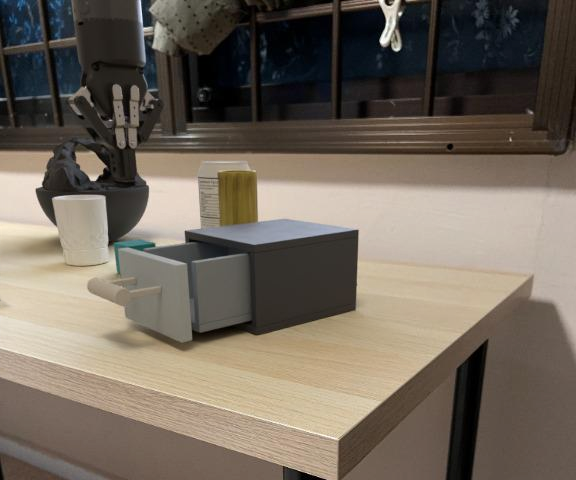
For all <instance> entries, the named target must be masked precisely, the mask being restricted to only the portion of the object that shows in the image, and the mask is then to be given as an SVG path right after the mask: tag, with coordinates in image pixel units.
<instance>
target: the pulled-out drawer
mask: <svg viewBox="0 0 576 480" xmlns="http://www.w3.org/2000/svg"><path fill="white" fill-rule="evenodd" d="M143 251H144V252H143ZM143 251H139V250H135V249H132V248H128V247H127V248H119V249H118V256H119V265H120V274H119V275H120V279H119V278H118V279H113V280H108V281H107V280H104V279H101V278H99V277H92V278H90V279H89V280H88V282H87V283H86V287H87V288H86V289H87V291H88V292H89V293H90V294H92V295H95V296H97V297H99V298H101V299H103V300H106V301H109V302H110V303H113V304H115V305H117V306H119V307H123V309H124V318H126V319H128V320H130V321H132V322H135V323H136V324H139V325H141V326H143V327H146V328H147V329H150V330H152V331H154V332H157V333H159V334H161V335H163V336H165V337H167V338H170V339H172V340H174V341H177V342H178V343H182V344H183V343H187V342H191V341H193V331H195V332H197V333H200V334H202V333H206V332H210V331H213V330H217V329H218V330H219V329H221V328H226V327H230V326H231V325H235V324H239V323H243V322H247V321H251V320H252V311H251V278H250V252H248V251H243V250H238V249H234V248H229V247H225V246H220V245H216V244H211V243H207V242H202V241H197V242H189V243H185V242H182V243H174V244H168V245H167V244H166V245H161V246H160V245H159V246H156V247H152V248H144V249H143Z"/></svg>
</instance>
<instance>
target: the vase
mask: <svg viewBox="0 0 576 480" xmlns="http://www.w3.org/2000/svg"><path fill="white" fill-rule="evenodd" d="M217 174H218V196H219V224H220V226H228V225H236V224H244V223H253V222H259V209H258V206H259V205H258V204H259V203H258V175H257V170H256V169H255V170H254V169H250V170H223V171H218V173H217Z"/></svg>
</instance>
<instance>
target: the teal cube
mask: <svg viewBox="0 0 576 480" xmlns="http://www.w3.org/2000/svg"><path fill="white" fill-rule="evenodd" d="M127 247H128V248H132V249H135V250H139V251H143V249H144V248H152V247H157V246H156V242H153V241H149V240H144V239H134V240H133V239H132V240H125V241H118V242H113V249H114V258H115V267H116V273H117V274H119V275H121V274H120V265H119V256H118V249H119V248H127ZM143 252H144V251H143Z"/></svg>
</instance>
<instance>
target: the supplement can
mask: <svg viewBox="0 0 576 480" xmlns="http://www.w3.org/2000/svg"><path fill="white" fill-rule="evenodd" d="M223 170H251V168H250V166H249V164H248V161H246V160H205V161H201V162H200V166H199V169H198V171H197V186H198V202H199V203H198V204H199V221H200V229H202V228H211V227H219V226H220V224H219V196H218V174H217V173H218V171H223Z"/></svg>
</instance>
